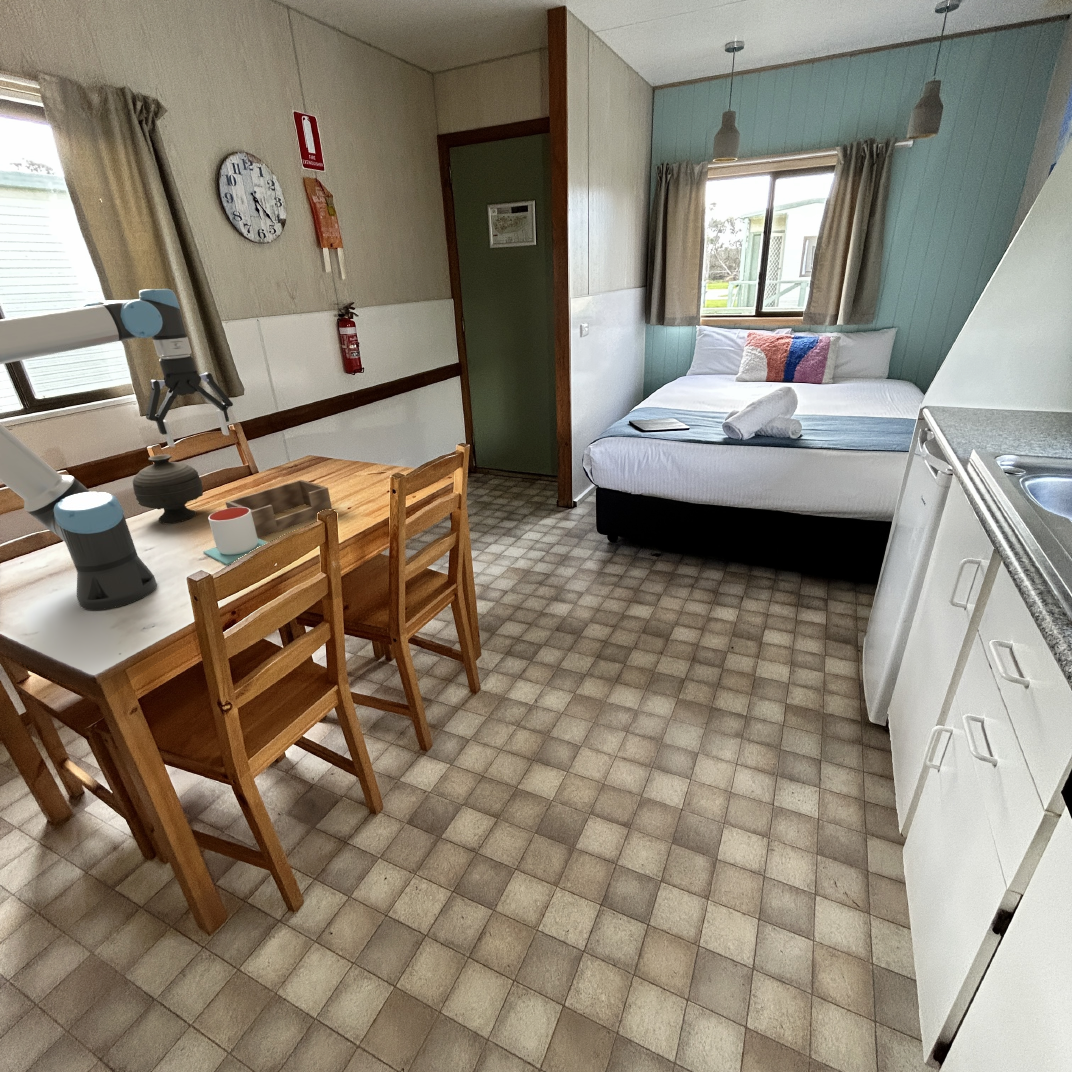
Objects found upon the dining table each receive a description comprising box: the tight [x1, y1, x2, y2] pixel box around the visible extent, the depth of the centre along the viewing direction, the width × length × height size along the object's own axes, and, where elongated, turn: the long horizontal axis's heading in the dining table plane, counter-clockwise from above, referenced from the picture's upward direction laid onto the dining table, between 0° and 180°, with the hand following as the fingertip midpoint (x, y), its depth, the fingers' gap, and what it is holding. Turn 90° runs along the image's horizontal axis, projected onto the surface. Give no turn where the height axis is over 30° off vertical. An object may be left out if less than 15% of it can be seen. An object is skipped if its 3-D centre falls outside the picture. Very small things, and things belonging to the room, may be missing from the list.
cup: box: [208, 507, 258, 555], centre depth 154 cm, size 10×10×10 cm
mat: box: [202, 538, 269, 566], centre depth 156 cm, size 13×13×1 cm
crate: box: [224, 479, 333, 539], centre depth 174 cm, size 24×15×8 cm, turn 142°
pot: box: [132, 453, 204, 524], centre depth 178 cm, size 18×18×20 cm
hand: (199, 440), depth 154 cm, fingers open, 13 cm apart
